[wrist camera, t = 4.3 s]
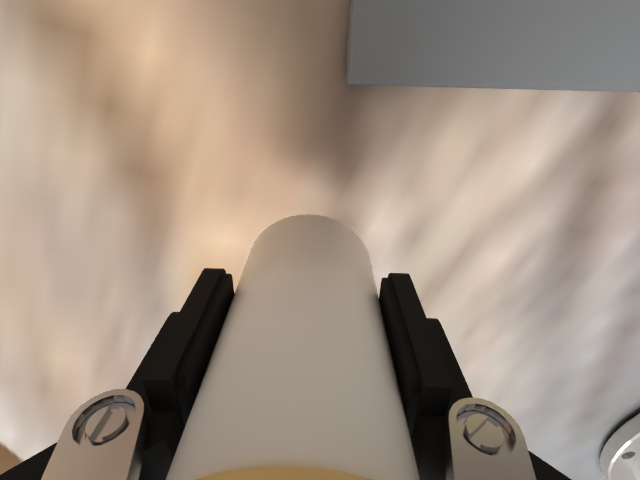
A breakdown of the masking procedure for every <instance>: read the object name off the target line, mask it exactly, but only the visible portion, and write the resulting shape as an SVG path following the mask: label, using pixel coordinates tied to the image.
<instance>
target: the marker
mask: <svg viewBox="0 0 640 480" xmlns="http://www.w3.org/2000/svg"><path fill="white" fill-rule="evenodd" d="M166 480H420V478H419V474H418V469H417V465H416V460H415V456H414V452H413V447H412V443H411V438H410V434H409V430H408V425H407V421H406V416H405V412H404V408H403V403H402V399H401V394H400V390H399V385H398V381H397V377H396V372H395V368H394V363H393V359H392V355H391V350H390V346H389V341H388V337H387V333H386V328H385V324H384V319H383V315H382V311H381V306H380V302H379V297H378V293H377V288H376V284H375V280H374V275H373V271H372V266H371V262H370V258H369V254H368V251H367V249H366V247H365V245H364V243H363V242H362V240H361V239H360V238H359V236H358V235H357V234H356V233H355V232H354V231H353V230H351V229H350V228H349V227H347V226H346V225H344V224H343V223H341V222H339V221H337V220H334V219H331V218H329V217H325V216H320V215H297V216H291V217H288V218H285V219H282V220H280V221H278V222H276V223H274V224H272V225H271V226H269V227H268V228H267V229H265V230H264V231H263V232H262V233H261V234H260V235H259V237H258V238H257V239H256V241H255V242H254V244H253V246H252V248H251V251H250V254H249V256H248V259H247V262H246V264H245V267H244V270H243V272H242V275H241V278H240V280H239V283H238V286H237V289H236V291H235V294H234V297H233V299H232V302H231V305H230V307H229V310H228V313H227V316H226V318H225V321H224V324H223V326H222V329H221V332H220V334H219V337H218V340H217V342H216V345H215V348H214V351H213V353H212V356H211V359H210V361H209V364H208V367H207V369H206V372H205V375H204V378H203V380H202V383H201V386H200V388H199V391H198V394H197V396H196V399H195V402H194V404H193V407H192V410H191V413H190V415H189V418H188V421H187V423H186V426H185V429H184V431H183V434H182V437H181V439H180V442H179V445H178V448H177V450H176V453H175V456H174V458H173V461H172V464H171V466H170V469H169V472H168V475H167V477H166Z"/></svg>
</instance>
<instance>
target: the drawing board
mask: <svg viewBox="0 0 640 480" xmlns="http://www.w3.org/2000/svg"><path fill="white" fill-rule="evenodd" d="M346 82H347V83H348V84H349V85H384V86H422V87H460V88H498V89H536V90H574V91H612V92H640V0H350V14H349V32H348V50H347V67H346Z"/></svg>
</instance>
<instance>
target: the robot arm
mask: <svg viewBox="0 0 640 480" xmlns="http://www.w3.org/2000/svg"><path fill="white" fill-rule="evenodd" d="M233 297H234V289H233V280H232V275H231V274H226V271H225V269H211V268H205V269H204V270H203V271H202V273H201V275H200V277H199V278H198V280H197V282H196V284H195V286H194V287H193V289H192V291H191V293H190V295H189V296H188V298H187V300H186V302H185V304H184V305H183V307H182V309H181V311H180V312H173V313H171V314H170V315H169V317H168V318H167V320H166V321H165V323H164V325H163V327H162V328H161V330H160V332H159V333H158V335H157V337H156V338H155V340H154V342H153V343H152V345H151V347H150V349H149V350H148V352H147V354H146V355H145V357H144V359H143V360H142V362H141V364H140V365H139V367H138V369H137V371H136V372H135V374H134V376H133V377H132V379H131V381H130V382H129V384H128V386H127V387H126V389H115V390H111V391H107V392H104V393H102V394H99V395H97V396H95V397H93V398H91V399H90V400H88V401H87V402H86V403H84V404H83V405H81V406H80V407H79V408H78V409H77V410H76V411H75V412H74V413H73V414H72V415H71V417H70V419H69V420H68V422H67V423H66V425H65V427H64V429H63V431H62V434H61V436H60V438H59V440H58V442H57V443H55V444H53V445H52V446H50V447H48V448H46V449H45V450H43V451H41V452H39V453H38V454H36V455H34V456H32V457H31V458H29V459H27V460H25V461H24V462H22V463H20V464H19V465H17V466H15V467H13V468H12V469H10V470H8V471H6V472H5V473H3V474H1V475H0V480H166V477H167V475H168V472H169V469H170V466H171V464H172V461H173V458H174V456H175V453H176V450H177V448H178V445H179V442H180V439H181V437H182V434H183V431H184V429H185V426H186V423H187V421H188V418H189V415H190V413H191V410H192V407H193V404H194V402H195V399H196V396H197V394H198V391H199V388H200V386H201V383H202V380H203V378H204V375H205V372H206V369H207V367H208V364H209V361H210V359H211V356H212V353H213V351H214V348H215V345H216V342H217V340H218V337H219V334H220V332H221V329H222V326H223V324H224V321H225V318H226V316H227V313H228V310H229V307H230V305H231V302H232V299H233ZM379 302H380V306H381V311H382V315H383V319H384V324H385V328H386V333H387V337H388V341H389V346H390V350H391V355H392V359H393V363H394V368H395V372H396V377H397V381H398V385H399V390H400V394H401V399H402V403H403V408H404V412H405V416H406V421H407V425H408V430H409V434H410V438H411V443H412V447H413V452H414V456H415V460H416V465H417V469H418V474H419V478H420V480H571V479H570V478H568V477H567V476H565V475H564V474H562V473H561V472H559V471H558V470H556V469H555V468H553V467H552V466H550V465H549V464H547V463H546V462H545V461H543V460H542V459H540V458H539V457H537V456H536V455H534V454H533V453H531V452H530V451H528V449H527V446H526V442H525V439H524V436H523V434H522V431H521V429H520V427H519V425H518V424H517V423H516V422H515V420H514V419H513V418H512V416H510V415H509V414H508V413H507V412H506V411H505V410H503V409H502V408H501V407H499V406H497V405H495V404H494V403H492V402H490V401H487V400H483V399H480V398H473V397H472V394H471V392H470V390H469V388H468V385H467V383H466V381H465V378H464V376H463V374H462V371H461V369H460V367H459V365H458V362H457V360H456V358H455V355H454V353H453V351H452V349H451V346H450V344H449V342H448V339H447V337H446V335H445V332H444V330H443V328H442V326H441V324H440V322H439V320H438V319H434V318H426V316H425V313H424V311H423V308H422V306H421V303H420V300H419V298H418V295H417V293H416V290H415V288H414V285H413V282H412V280H411V277H410V275H409V274H404V273H390V274H389V275H388V278H382V281H381V288H380V295H379ZM600 466H601V470H602V472H603V473H604V475H605V476H606V478H607V479H608V480H640V413H639V414H637V415H636V416H634V417H633V418H632V419H630V420H629V421H627V422H626V423H625V424H623V425H622V426H621V427H620V428H619V429H618V430H617V431H616V432H615V433H614V434H613V435H612V436H611V437H610V439H609V440H608V441H607V442H606V444H605V446H604V448H603V450H602V452H601V457H600Z"/></svg>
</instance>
